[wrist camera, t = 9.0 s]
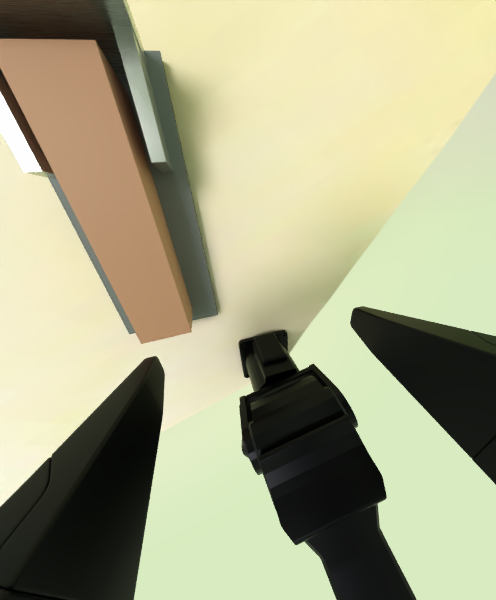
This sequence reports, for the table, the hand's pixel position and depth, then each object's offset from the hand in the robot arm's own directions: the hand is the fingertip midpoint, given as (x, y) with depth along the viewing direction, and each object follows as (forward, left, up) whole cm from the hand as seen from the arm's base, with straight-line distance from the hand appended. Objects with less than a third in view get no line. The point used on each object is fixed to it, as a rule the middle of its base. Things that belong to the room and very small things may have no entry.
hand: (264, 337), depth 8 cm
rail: (+4, +6, -11) cm, 14 cm away
